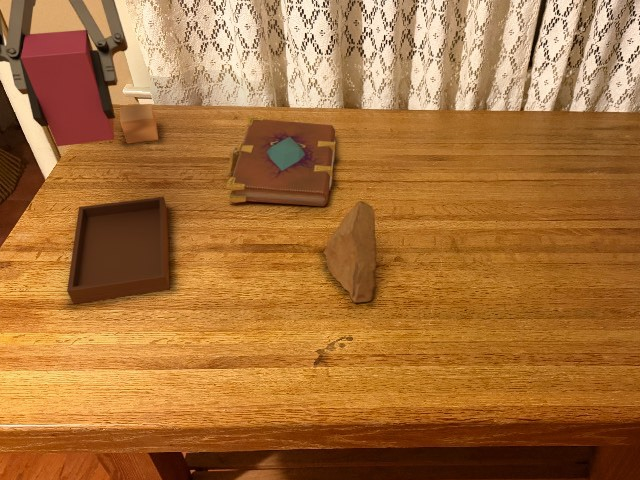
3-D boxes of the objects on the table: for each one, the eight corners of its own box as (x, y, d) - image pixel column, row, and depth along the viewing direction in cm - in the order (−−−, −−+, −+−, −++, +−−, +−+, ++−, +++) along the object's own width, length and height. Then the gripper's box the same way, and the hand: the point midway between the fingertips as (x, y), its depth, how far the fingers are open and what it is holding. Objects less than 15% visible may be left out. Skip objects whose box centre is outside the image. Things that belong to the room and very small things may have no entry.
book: (338, 131, 106) (338, 105, 102) (329, 214, 88) (330, 186, 85) (245, 123, 104) (243, 96, 101) (217, 206, 87) (213, 178, 83)
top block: (56, 146, 66) (20, 57, 58) (59, 120, 69) (25, 34, 62) (114, 139, 67) (85, 51, 60) (113, 114, 71) (86, 29, 64)
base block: (126, 143, 98) (120, 121, 95) (126, 129, 101) (119, 107, 98) (158, 139, 99) (152, 117, 96) (156, 125, 102) (151, 103, 100)
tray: (84, 219, 83) (78, 206, 82) (167, 209, 86) (163, 196, 84) (73, 304, 72) (66, 290, 70) (169, 289, 74) (165, 276, 73)
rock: (393, 298, 72) (404, 239, 78) (349, 256, 67) (365, 196, 73) (327, 320, 78) (342, 263, 84) (282, 282, 72) (302, 224, 78)
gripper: (-97, -121, 56) (-41, 118, 57) (116, -123, 62) (164, 96, 62) (-59, -72, 64) (-10, 139, 65) (128, -78, 69) (171, 118, 70)
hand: (75, 118), depth 64 cm, fingers closed on top block, 6 cm apart
